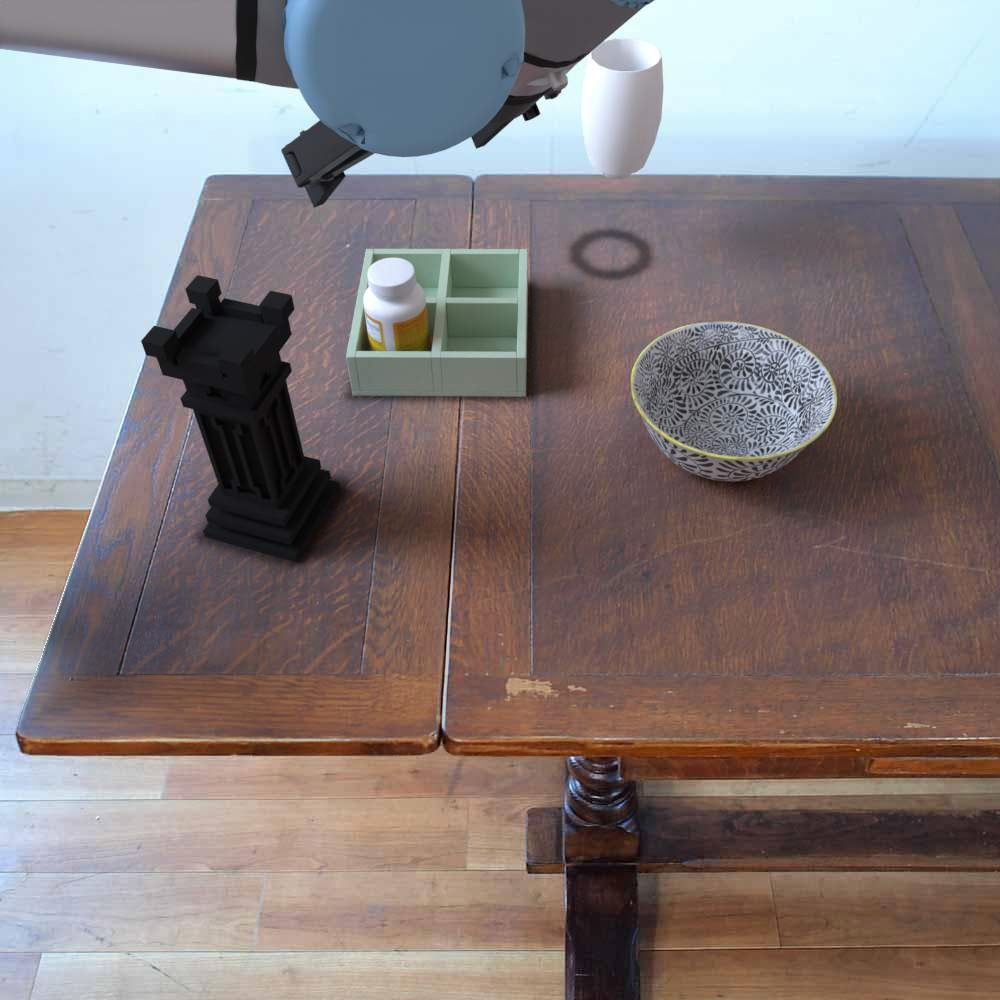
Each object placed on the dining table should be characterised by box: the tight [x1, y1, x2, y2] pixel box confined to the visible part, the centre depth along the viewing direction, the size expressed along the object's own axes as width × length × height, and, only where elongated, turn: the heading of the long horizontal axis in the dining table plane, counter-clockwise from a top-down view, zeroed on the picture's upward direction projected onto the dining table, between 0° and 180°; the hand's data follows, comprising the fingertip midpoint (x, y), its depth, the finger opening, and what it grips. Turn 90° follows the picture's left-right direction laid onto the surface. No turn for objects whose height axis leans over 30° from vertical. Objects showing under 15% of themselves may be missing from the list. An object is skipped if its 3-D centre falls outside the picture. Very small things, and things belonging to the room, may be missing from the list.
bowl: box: [630, 320, 838, 483], centre depth 84 cm, size 16×16×8 cm
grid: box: [345, 248, 529, 398], centre depth 95 cm, size 15×15×5 cm
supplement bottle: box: [363, 258, 431, 351], centre depth 90 cm, size 5×5×10 cm
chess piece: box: [140, 274, 341, 563], centre depth 75 cm, size 8×8×20 cm
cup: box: [580, 37, 664, 180], centre depth 96 cm, size 7×7×21 cm
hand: (394, 158), depth 75 cm, fingers open, 13 cm apart
